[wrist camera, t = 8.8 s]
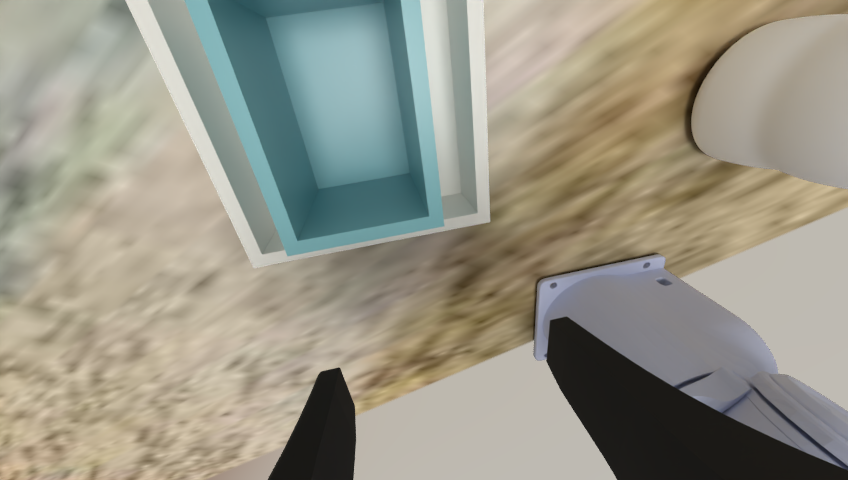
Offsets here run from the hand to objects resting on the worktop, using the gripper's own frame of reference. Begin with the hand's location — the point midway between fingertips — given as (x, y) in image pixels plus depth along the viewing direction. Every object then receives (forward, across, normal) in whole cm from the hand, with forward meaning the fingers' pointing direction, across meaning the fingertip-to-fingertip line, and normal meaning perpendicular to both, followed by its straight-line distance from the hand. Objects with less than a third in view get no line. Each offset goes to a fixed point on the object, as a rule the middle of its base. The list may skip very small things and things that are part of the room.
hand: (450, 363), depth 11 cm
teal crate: (+9, +2, -8) cm, 12 cm away
